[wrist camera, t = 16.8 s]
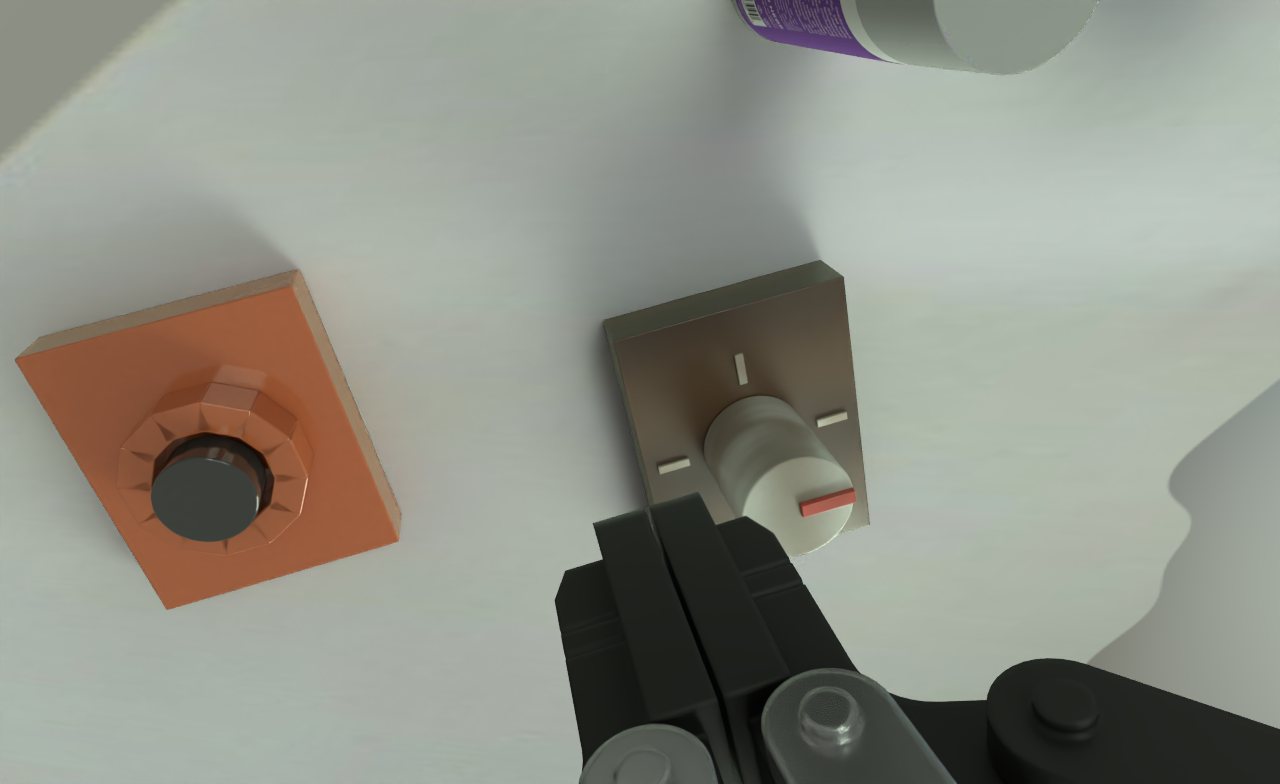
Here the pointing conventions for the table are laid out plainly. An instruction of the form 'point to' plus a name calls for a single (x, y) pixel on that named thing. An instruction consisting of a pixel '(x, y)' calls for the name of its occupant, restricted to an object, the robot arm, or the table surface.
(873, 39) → the container
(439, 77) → the table surface
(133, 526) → the button housing
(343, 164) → the table surface
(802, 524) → the dial
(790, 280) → the dial panel
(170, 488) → the button
